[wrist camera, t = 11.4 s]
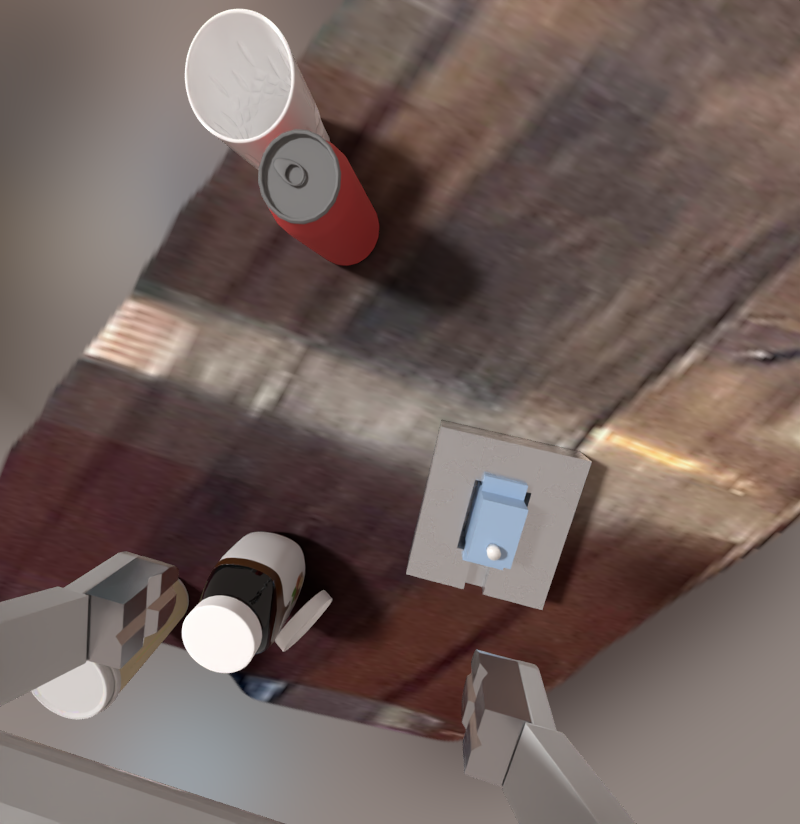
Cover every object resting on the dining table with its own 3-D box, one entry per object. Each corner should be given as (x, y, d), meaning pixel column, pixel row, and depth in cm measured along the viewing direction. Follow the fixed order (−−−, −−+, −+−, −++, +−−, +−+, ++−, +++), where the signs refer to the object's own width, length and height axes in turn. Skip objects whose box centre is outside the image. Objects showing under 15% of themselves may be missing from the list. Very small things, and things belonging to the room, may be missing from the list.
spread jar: (249, 516, 43) (178, 580, 31) (344, 537, 42) (306, 610, 30) (241, 605, 45) (173, 693, 34) (330, 626, 44) (291, 725, 33)
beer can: (335, 179, 35) (279, 97, 23) (393, 218, 35) (367, 155, 23) (301, 243, 36) (233, 196, 24) (357, 280, 36) (315, 251, 25)
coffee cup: (115, 598, 47) (6, 683, 36) (146, 547, 45) (41, 619, 33) (174, 641, 47) (86, 739, 36) (208, 591, 45) (125, 678, 34)
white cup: (353, 138, 34) (316, 57, 24) (306, 214, 36) (254, 167, 26) (285, 84, 34) (220, -20, 24) (241, 163, 35) (164, 96, 26)
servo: (521, 474, 37) (535, 498, 31) (498, 553, 39) (507, 589, 33) (482, 465, 37) (489, 487, 32) (461, 543, 39) (463, 577, 34)
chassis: (579, 451, 37) (591, 461, 34) (534, 588, 40) (542, 609, 37) (441, 419, 38) (441, 426, 35) (409, 556, 41) (406, 574, 38)
